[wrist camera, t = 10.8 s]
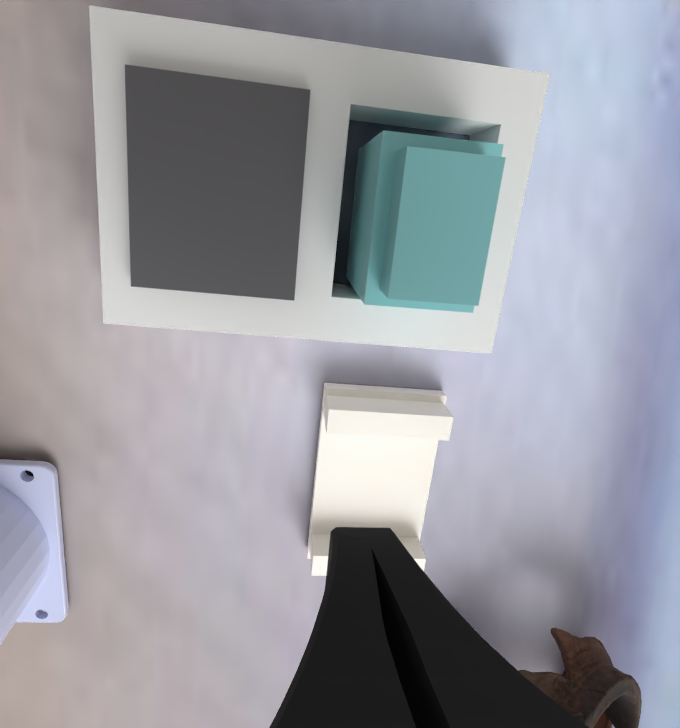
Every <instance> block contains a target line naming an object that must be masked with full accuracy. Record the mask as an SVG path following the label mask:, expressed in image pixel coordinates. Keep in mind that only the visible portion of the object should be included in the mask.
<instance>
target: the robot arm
mask: <svg viewBox="0 0 680 728" xmlns="http://www.w3.org/2000/svg"><path fill="white" fill-rule="evenodd" d="M25 470H27V471H30V472H32V473H33V475H34V477H32V476H29V475H27V474H26V472H25ZM42 610H45V611H46V612H44V611H42ZM68 610H69V604H68V592H67V581H66V569H65V557H64V545H63V533H62V521H61V509H60V498H59V486H58V474H57V470H56V468H55V467H54V466H53V465H52V464H51V463H49V462H45V461H27V460H6V459H0V645H1V643H2V642H3V640H4V639H5V637H6V636H7V634H8V633H9V631H10V630H11V628H12V627H13V625H14V624H15V622H53V623H55V622H60V621H62V620H63V619H64V618H65V617H66V615H67V613H68ZM270 728H589V727H588V726H586V725H585V724H583V723H582V722H581V721H579V720H578V719H577V718H575V717H574V716H573V715H571V714H570V713H569V712H567V711H566V710H565V709H564V708H562V707H561V706H560V705H559V704H557V703H556V702H555V701H554V700H552V699H551V698H550V697H549V696H547V695H546V694H545V693H544V692H542V691H541V690H540V689H539V688H537V687H536V686H535V685H534V684H533V683H531V682H530V681H529V680H528V679H527V678H525V677H524V676H523V675H522V674H521V673H520V672H518V671H517V670H516V669H515V668H514V667H513V666H512V665H511V664H510V663H509V662H507V661H506V660H505V659H504V658H503V657H502V656H501V655H500V654H499V653H498V652H497V651H496V650H494V649H493V648H492V647H491V646H490V645H489V644H488V643H487V642H486V641H485V640H484V639H483V638H482V637H481V636H480V635H479V634H478V633H477V632H476V631H475V630H474V629H473V628H472V627H471V626H470V625H469V623H468V622H467V621H466V620H465V619H464V618H463V617H462V616H461V615H460V614H459V613H458V612H457V610H456V609H455V608H454V607H453V606H452V605H451V604H450V603H449V601H448V600H447V599H446V598H445V597H444V596H443V594H442V593H441V592H440V591H439V590H438V588H437V587H436V586H435V585H434V584H433V582H432V581H431V580H430V579H429V578H428V576H427V575H426V574H425V573H424V571H423V570H422V569H421V568H420V566H419V565H418V564H417V562H416V561H415V560H414V558H413V557H412V556H411V555H410V553H409V552H408V551H407V549H406V548H405V547H404V545H403V544H402V543H401V541H400V540H399V538H398V537H397V536H396V534H395V533H394V532H393V531H392V530H391V528H371V527H336V528H334V529H333V530H332V531H331V533H330V543H329V554H328V564H327V574H326V585H325V592H324V596H323V599H322V603H321V606H320V609H319V612H318V615H317V619H316V622H315V625H314V628H313V631H312V634H311V636H310V639H309V642H308V645H307V647H306V650H305V652H304V655H303V657H302V660H301V662H300V665H299V667H298V669H297V672H296V674H295V676H294V678H293V681H292V683H291V685H290V687H289V689H288V691H287V694H286V696H285V698H284V700H283V702H282V704H281V706H280V708H279V710H278V712H277V714H276V716H275V718H274V720H273V722H272V724H271V726H270Z"/></svg>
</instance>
